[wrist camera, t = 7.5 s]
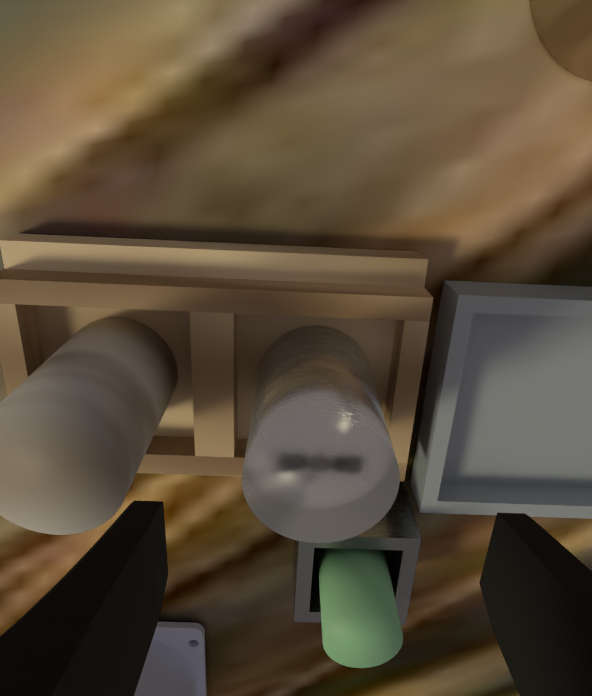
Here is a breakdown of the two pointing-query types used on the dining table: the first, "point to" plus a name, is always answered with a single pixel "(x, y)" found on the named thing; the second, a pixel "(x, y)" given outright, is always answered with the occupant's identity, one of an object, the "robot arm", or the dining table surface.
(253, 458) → the cylinder
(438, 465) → the tray
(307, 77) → the dining table surface
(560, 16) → the beer glass
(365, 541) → the switch box
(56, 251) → the light brown divided box
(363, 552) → the button
